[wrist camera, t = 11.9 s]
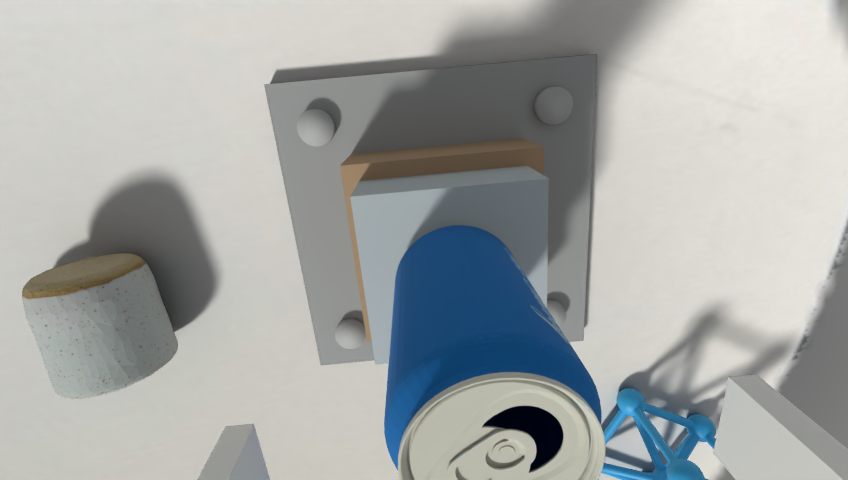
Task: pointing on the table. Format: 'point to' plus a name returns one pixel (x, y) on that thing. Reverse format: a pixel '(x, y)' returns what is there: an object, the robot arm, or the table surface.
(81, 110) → the table surface
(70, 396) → the ceramic mug
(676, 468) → the molecular structure
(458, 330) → the beverage can
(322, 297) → the tower base
